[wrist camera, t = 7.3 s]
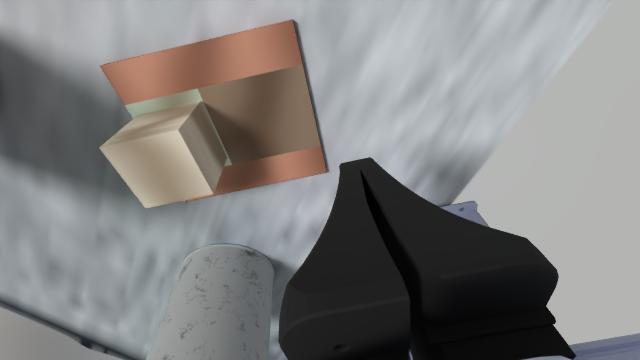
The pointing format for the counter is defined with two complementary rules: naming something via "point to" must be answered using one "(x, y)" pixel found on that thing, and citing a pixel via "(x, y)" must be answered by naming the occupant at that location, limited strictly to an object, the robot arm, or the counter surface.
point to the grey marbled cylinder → (218, 307)
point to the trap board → (235, 101)
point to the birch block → (168, 155)
